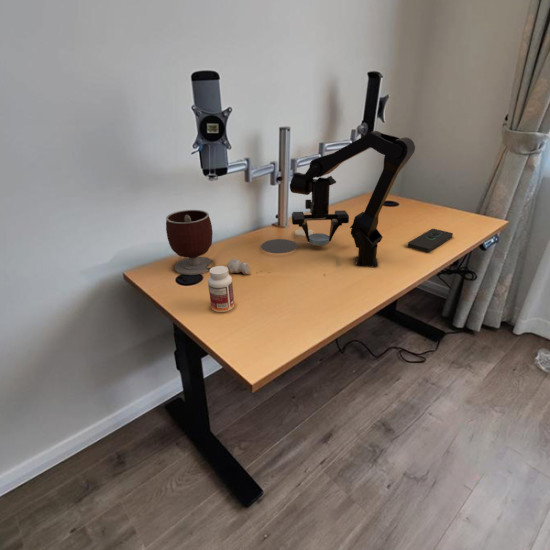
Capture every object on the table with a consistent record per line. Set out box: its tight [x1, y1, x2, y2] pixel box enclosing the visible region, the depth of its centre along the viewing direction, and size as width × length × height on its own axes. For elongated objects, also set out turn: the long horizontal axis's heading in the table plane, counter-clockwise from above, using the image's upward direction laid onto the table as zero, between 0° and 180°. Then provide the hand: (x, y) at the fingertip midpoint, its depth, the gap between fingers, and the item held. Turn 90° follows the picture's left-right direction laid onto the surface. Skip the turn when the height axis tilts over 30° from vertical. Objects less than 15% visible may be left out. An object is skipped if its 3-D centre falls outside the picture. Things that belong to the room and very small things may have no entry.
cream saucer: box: [294, 228, 315, 239], centre depth 140 cm, size 7×7×2 cm
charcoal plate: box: [260, 238, 298, 254], centre depth 131 cm, size 13×13×1 cm
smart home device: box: [407, 228, 454, 254], centre depth 133 cm, size 8×2×20 cm
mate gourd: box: [165, 209, 213, 276], centre depth 115 cm, size 16×14×20 cm
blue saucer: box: [308, 232, 330, 247], centre depth 127 cm, size 7×7×2 cm
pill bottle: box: [207, 265, 235, 313], centre depth 95 cm, size 6×6×11 cm
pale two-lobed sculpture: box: [226, 258, 251, 275], centre depth 114 cm, size 4×8×5 cm
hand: (319, 241), depth 127 cm, fingers closed on blue saucer, 7 cm apart
